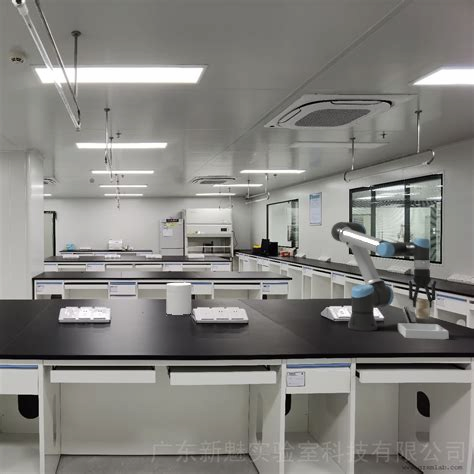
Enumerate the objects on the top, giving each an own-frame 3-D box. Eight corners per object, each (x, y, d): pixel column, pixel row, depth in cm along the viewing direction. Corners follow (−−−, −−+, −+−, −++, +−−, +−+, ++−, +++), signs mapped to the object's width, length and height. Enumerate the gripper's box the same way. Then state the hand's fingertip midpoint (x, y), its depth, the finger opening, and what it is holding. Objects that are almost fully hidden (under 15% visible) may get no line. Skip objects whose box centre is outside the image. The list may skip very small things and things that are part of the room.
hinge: (417, 324, 249) (410, 307, 250) (408, 326, 250) (402, 309, 252) (415, 319, 265) (409, 303, 266) (407, 321, 266) (401, 305, 267)
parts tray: (405, 338, 213) (405, 330, 213) (397, 330, 231) (397, 323, 231) (448, 339, 210) (448, 331, 210) (437, 331, 228) (437, 324, 228)
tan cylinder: (418, 318, 218) (418, 300, 218) (415, 316, 223) (415, 299, 223) (428, 318, 217) (428, 300, 217) (426, 316, 222) (425, 299, 222)
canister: (161, 315, 276) (161, 284, 276) (177, 311, 289) (177, 282, 290) (180, 317, 267) (180, 285, 268) (196, 314, 281) (196, 283, 281)
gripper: (405, 268, 218) (405, 314, 218) (442, 269, 215) (443, 315, 215) (401, 267, 226) (402, 312, 225) (438, 268, 223) (438, 313, 223)
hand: (422, 313), depth 220 cm, fingers closed on tan cylinder, 5 cm apart
